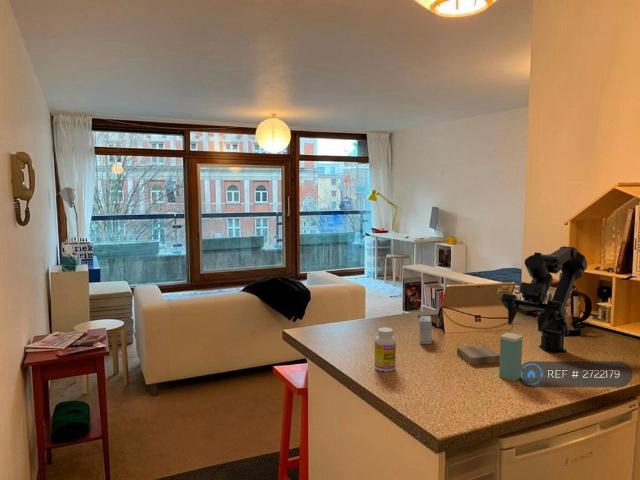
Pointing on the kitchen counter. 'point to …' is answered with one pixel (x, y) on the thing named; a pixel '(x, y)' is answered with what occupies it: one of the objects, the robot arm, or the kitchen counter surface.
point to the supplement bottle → (385, 350)
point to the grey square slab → (478, 355)
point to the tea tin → (510, 356)
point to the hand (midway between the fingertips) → (523, 327)
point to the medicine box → (425, 330)
